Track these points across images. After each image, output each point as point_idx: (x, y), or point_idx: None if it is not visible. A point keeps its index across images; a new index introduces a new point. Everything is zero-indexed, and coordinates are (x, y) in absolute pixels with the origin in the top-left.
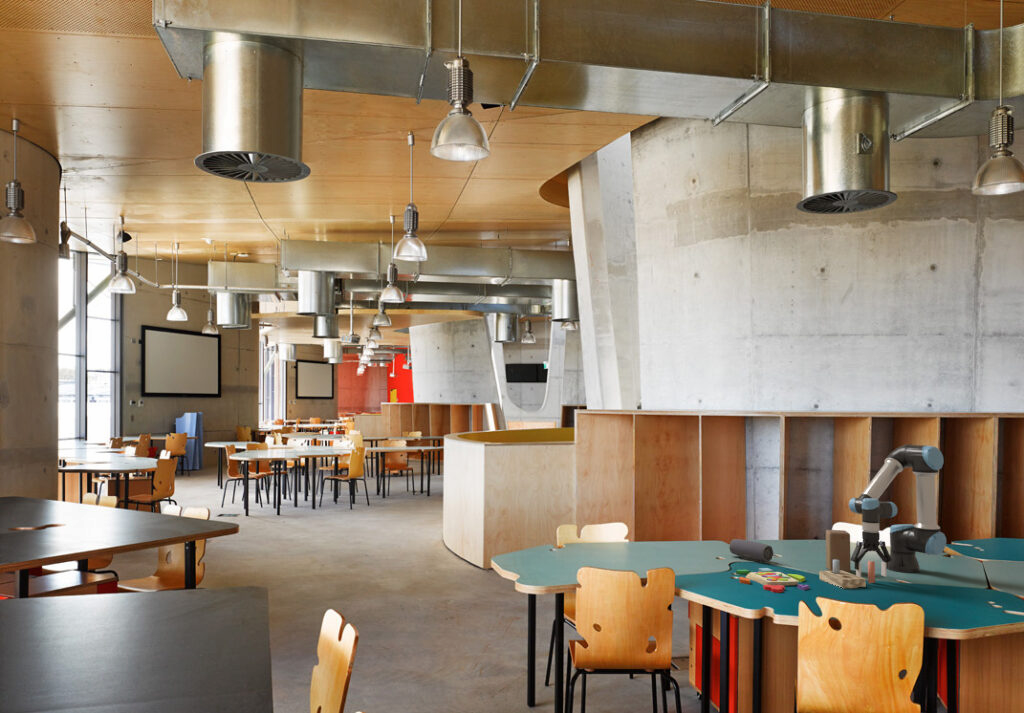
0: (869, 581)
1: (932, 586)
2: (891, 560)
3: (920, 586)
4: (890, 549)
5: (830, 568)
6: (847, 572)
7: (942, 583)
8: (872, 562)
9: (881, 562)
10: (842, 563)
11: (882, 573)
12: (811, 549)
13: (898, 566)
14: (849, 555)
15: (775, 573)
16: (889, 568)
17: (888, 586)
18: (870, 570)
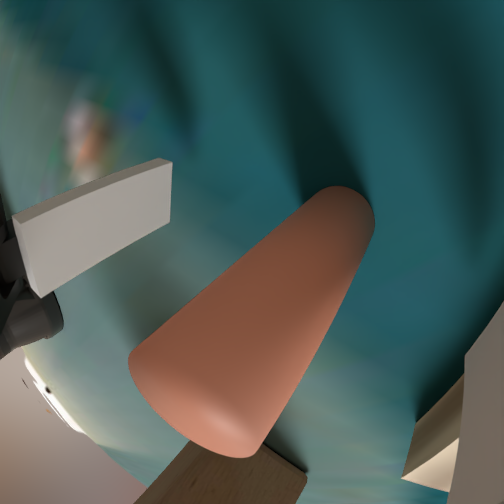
0: (370, 232)
1: (50, 10)
2: (30, 327)
3: (84, 6)
4: (5, 354)
5: (302, 490)
6: (452, 443)
7: (10, 67)
8: (211, 378)
9: (49, 286)
10: (239, 483)
11: (153, 212)
12: (152, 477)
13: (31, 290)
14: (175, 497)
15: None
16: (58, 317)
17: (297, 29)
18: (330, 292)
